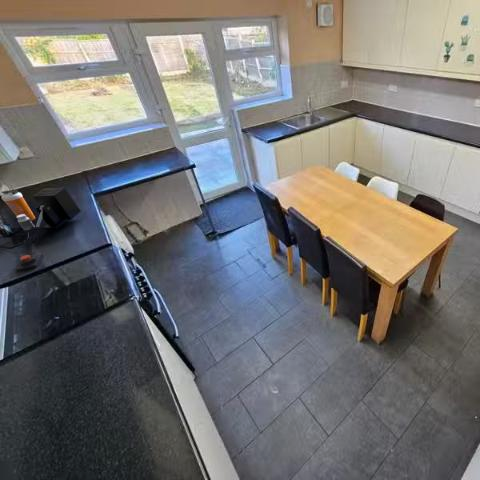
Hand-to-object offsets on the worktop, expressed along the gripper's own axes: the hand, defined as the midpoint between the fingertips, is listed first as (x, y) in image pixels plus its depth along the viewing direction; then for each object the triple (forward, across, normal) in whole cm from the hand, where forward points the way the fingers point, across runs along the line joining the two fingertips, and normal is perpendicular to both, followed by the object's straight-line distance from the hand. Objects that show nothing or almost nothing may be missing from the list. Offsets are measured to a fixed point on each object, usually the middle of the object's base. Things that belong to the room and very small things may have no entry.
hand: (6, 235), depth 132 cm
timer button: (+15, 0, 0) cm, 15 cm away
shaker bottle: (+17, -56, -10) cm, 59 cm away
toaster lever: (+10, -35, +4) cm, 36 cm away
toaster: (+17, -48, +11) cm, 52 cm away
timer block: (+19, 0, 0) cm, 19 cm away
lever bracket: (+17, -39, +6) cm, 43 cm away
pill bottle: (+17, -43, -7) cm, 47 cm away
